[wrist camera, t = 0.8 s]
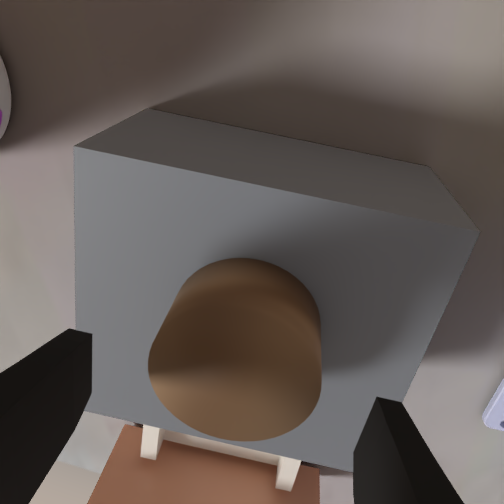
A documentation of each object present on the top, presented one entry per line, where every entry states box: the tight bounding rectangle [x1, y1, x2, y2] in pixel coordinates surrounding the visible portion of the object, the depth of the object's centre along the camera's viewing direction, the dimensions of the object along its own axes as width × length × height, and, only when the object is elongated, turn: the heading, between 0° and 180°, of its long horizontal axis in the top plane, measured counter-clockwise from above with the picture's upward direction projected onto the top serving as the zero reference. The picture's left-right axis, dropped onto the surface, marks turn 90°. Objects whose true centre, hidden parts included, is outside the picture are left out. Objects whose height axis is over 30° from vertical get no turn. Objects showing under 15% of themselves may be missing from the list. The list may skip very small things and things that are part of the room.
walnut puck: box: [148, 258, 322, 442], centre depth 13 cm, size 5×5×2 cm
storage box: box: [74, 108, 480, 472], centre depth 17 cm, size 11×10×6 cm
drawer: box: [87, 424, 320, 504], centre depth 21 cm, size 11×10×5 cm
